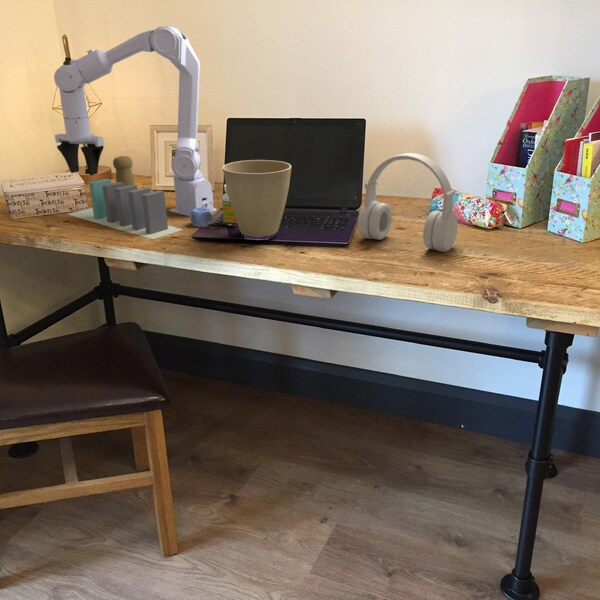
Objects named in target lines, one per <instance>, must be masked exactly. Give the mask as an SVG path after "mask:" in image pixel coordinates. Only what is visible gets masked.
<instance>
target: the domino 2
mask: <svg viewBox="0 0 600 600" xmlns="http://www.w3.org/2000/svg"><path fill="white" fill-rule="evenodd" d="M124 186H125V184H124V182H116V181H115V182H113V183H112V182H111V184H107V185H103V194H104V201H105V208H106V215H107V222H109V223H115V222H118V221H119V216H118V208H117V200H116V193H115V188H119V187H124Z"/></svg>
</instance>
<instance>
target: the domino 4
mask: <svg viewBox="0 0 600 600" xmlns="http://www.w3.org/2000/svg"><path fill="white" fill-rule="evenodd" d="M150 192H152V191H151V188H150V187H147V186H146V187H142V188H141V187H140V188H137V189H136V190H132V191H128V195H129V203H130V212H131V220H132V228H133V229H134V230H137V231H138V230H141V229H144V228H145V220H144V211H143V202H142V194H146V193H150Z"/></svg>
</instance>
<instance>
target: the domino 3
mask: <svg viewBox="0 0 600 600" xmlns="http://www.w3.org/2000/svg"><path fill="white" fill-rule="evenodd" d="M136 189H138V185H137V184H135V185H133V184H132V185H128V186H124V187H119V188H115V193H116V200H117V208H118V216H119V223H120V226H123V227H126V226H129V225H132V220H131V212H130V203H129V195H128V191H132V190H136Z"/></svg>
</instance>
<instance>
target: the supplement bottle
mask: <svg viewBox="0 0 600 600" xmlns="http://www.w3.org/2000/svg"><path fill="white" fill-rule="evenodd" d="M223 186H224V192H225V193H224V194H223V195H222V197H221V202H222V203H221V204H222V217H223V223H224V222H229V223H237V221H236V219H235V216H234V213H233V210H232V207H231V203H230V200H229V196H228V192H227V188H226V183H225V184H224V185H223Z"/></svg>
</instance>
